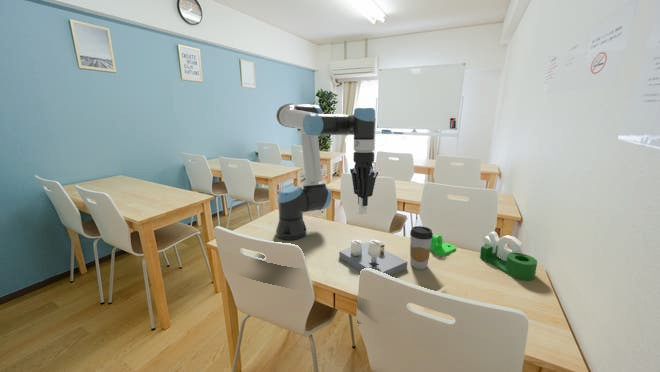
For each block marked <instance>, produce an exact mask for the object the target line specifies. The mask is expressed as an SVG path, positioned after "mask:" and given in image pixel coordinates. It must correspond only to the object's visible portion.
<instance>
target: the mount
mask: <svg viewBox="0 0 660 372" xmlns="http://www.w3.org/2000/svg"><path fill="white" fill-rule="evenodd" d="M368 249H369V241H367V242H364V243H363V242H362V254H361V255H359V256H354V255H352V254H351V247H349V248H345V249H343V250H339V253H338V254H339V256H338V257H339V259H340V260H341V261H344V262H345V263H347V264H349V265H350V266H351V267H353V268H355V269H356V270H358V271H359V272H361V270H362V269H364V268H372V269H375V270H378V271H380V272H383V273H386V274H388V275H391V276H390V277H392V276H394V275H396V274H398V273H401V272H403V271H405V270H407V269H408V261H407V260H405V259H403V258H401V257H400V256H399V257H398V256H396V255H395V254H393V253H391V252H390V251H387V250H385V249H384V254H380V256H379V257H377V262H376V263H373V262H371V256H369V255H368Z"/></svg>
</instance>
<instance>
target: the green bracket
mask: <svg viewBox="0 0 660 372" xmlns="http://www.w3.org/2000/svg"><path fill="white" fill-rule="evenodd" d="M497 248H498V246H497V245H496V253H492V250H493V247H492V246H490V245H488V244H487V245H486V244H483V245H481V247H480V256H479V258H480V260H482V261H484V262H486V263H488V264H489V265H491V266H493V267H495V268H496V269H498V270H500V271H501V272H503V273H505V274H506V275H508V276H510V277H512V278H514V279H516V280H519V281H524V282H531V281H534V280H535V279H536V273H537V267H538V266H537V265H538V261H537V259H536V258H535V257H533V256H531V255H528V254H525V253H524V254H520V253H509V254H508V255H507V261H505V260H502V259H501V258H499V257H497Z"/></svg>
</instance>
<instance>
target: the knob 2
mask: <svg viewBox="0 0 660 372" xmlns="http://www.w3.org/2000/svg"><path fill="white" fill-rule="evenodd" d="M368 242H369V249H368V255H369V256H371V262H373V263H376V262H377V257H379V256H380V250H381V243H382V242H381V241H380V240H376V239H371V240H368Z"/></svg>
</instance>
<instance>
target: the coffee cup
mask: <svg viewBox="0 0 660 372" xmlns="http://www.w3.org/2000/svg"><path fill="white" fill-rule="evenodd" d="M433 235H434V234H433V230H432V229H431V228H429V227H427V226H426V227H425V226H422V225H420V226H412V228H411V229H410V244H409V247H410V248H409V252H410V253H409V255H410V265H411V266H412V268H415V269H418V270H425V269H426V268H427V267H428V264H429V259H430V253H431V251H430V248H431V241H432V238H433Z"/></svg>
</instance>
